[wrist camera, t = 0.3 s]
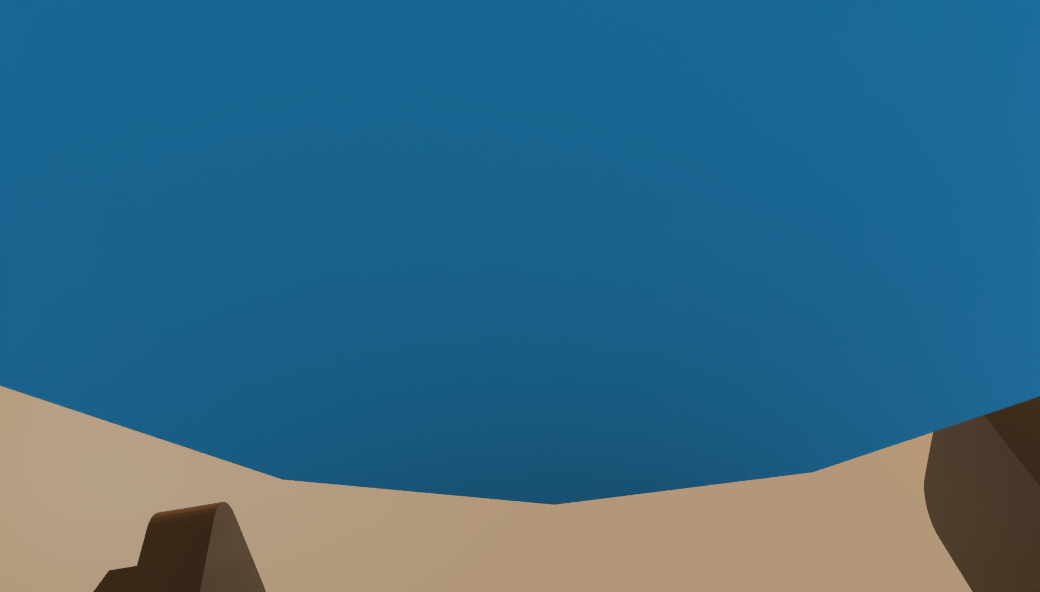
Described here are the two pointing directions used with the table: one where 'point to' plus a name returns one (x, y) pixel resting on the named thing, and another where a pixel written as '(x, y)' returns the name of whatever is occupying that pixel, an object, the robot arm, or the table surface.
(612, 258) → the blue tall rounded block
